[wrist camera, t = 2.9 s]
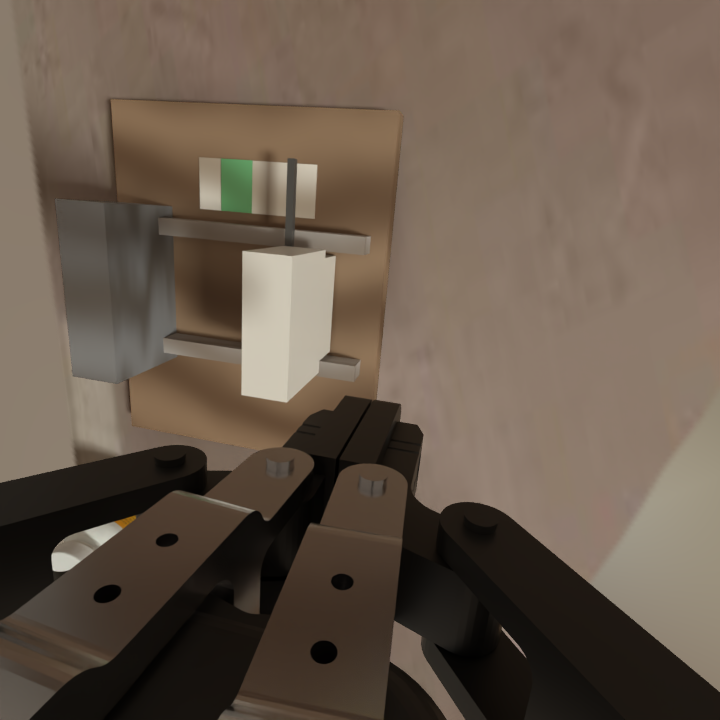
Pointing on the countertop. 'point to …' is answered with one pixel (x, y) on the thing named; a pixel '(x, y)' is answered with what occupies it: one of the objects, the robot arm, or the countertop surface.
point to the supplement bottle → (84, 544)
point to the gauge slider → (285, 311)
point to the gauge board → (226, 257)
